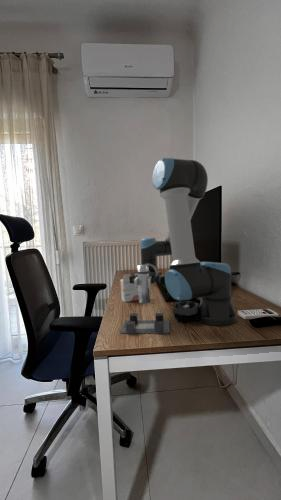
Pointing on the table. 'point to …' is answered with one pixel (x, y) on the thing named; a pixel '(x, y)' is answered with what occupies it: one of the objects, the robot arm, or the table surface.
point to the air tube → (143, 283)
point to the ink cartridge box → (128, 289)
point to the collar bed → (145, 325)
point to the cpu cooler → (186, 311)
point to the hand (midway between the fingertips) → (142, 283)
